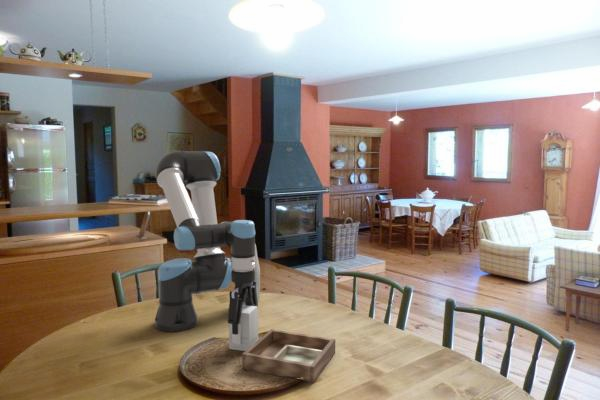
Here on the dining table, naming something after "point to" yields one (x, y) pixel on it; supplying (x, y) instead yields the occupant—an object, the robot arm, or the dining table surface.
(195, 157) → the robot arm
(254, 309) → the supplement box
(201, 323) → the dining table surface
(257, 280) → the grey rounded cylinder
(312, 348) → the crate
